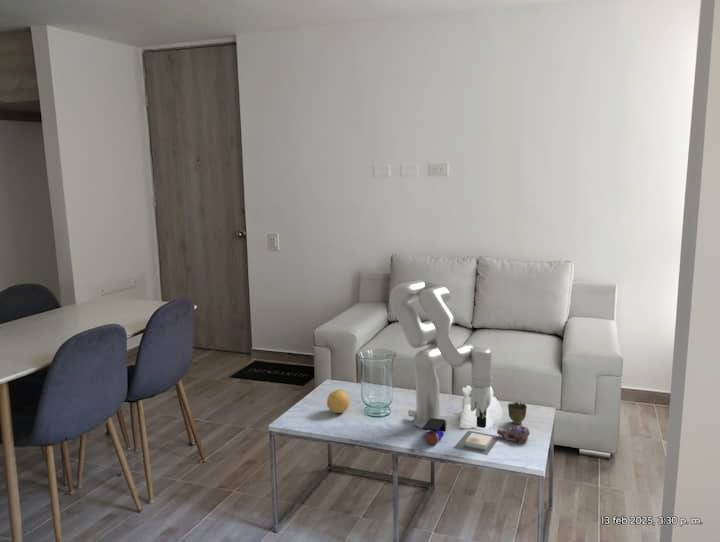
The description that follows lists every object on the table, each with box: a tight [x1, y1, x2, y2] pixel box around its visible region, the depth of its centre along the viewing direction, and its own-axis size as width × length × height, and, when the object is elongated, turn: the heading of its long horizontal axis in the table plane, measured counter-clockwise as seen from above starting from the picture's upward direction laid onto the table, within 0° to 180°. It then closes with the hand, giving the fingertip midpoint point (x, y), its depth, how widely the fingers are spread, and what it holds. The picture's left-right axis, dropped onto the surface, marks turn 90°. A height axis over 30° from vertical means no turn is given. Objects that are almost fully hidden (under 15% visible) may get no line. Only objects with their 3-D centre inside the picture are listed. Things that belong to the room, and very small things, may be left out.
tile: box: [465, 433, 492, 450], centre depth 224 cm, size 8×2×8 cm
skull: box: [496, 425, 531, 444], centre depth 227 cm, size 12×8×6 cm, turn 60°
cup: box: [507, 401, 527, 426], centre depth 241 cm, size 8×7×8 cm
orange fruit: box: [326, 389, 351, 414], centre depth 258 cm, size 10×10×10 cm
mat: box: [453, 430, 501, 456], centre depth 225 cm, size 13×17×1 cm
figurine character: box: [421, 418, 448, 446], centre depth 230 cm, size 7×8×15 cm
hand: (481, 426), depth 226 cm, fingers closed
